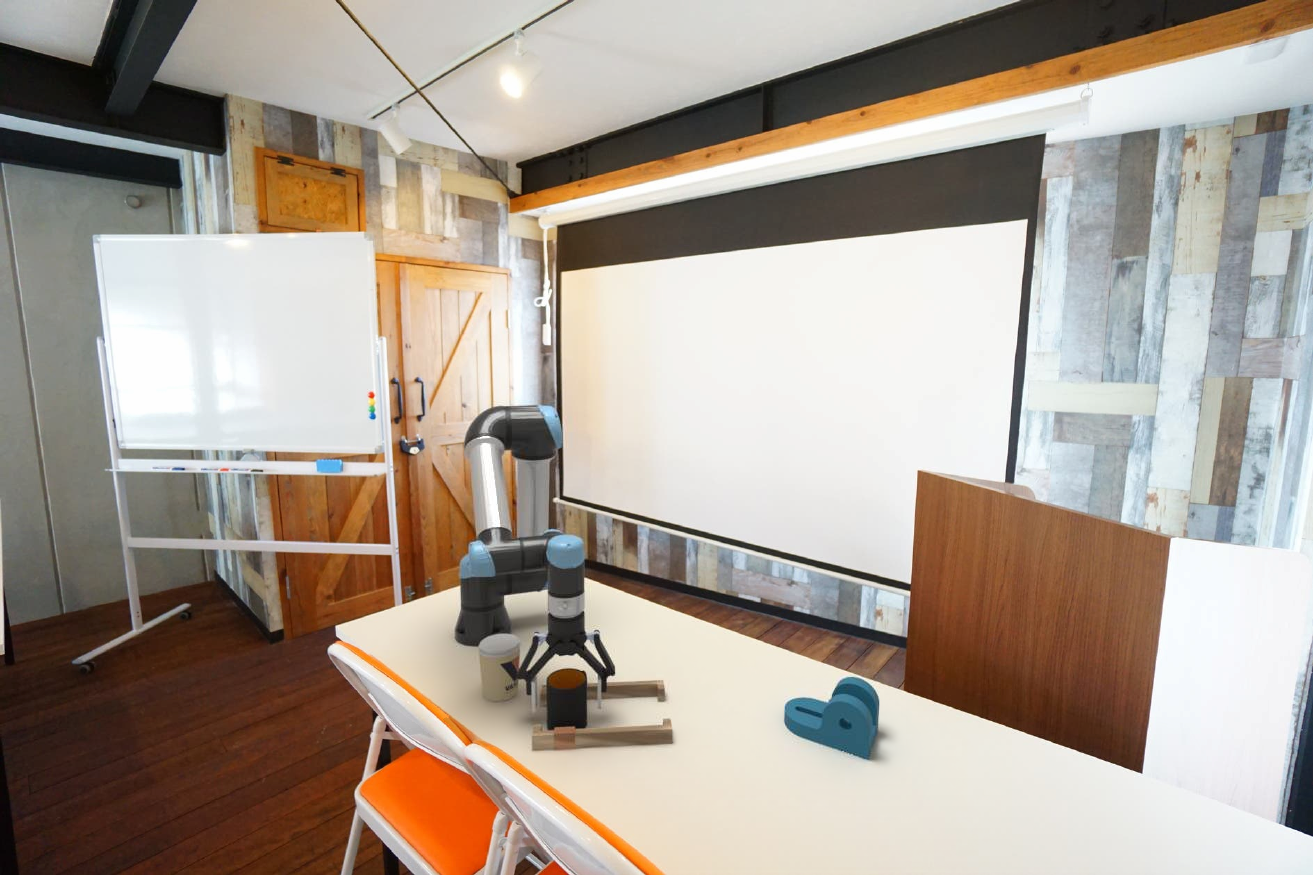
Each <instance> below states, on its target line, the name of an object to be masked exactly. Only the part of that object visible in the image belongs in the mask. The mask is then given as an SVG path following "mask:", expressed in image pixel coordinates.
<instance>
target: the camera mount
mask: <svg viewBox="0 0 1313 875" xmlns="http://www.w3.org/2000/svg"><path fill="white" fill-rule="evenodd" d="M783 711H784V713H783V716H784V717H783V722H784V725H785V728H786V729H787V730H788V731H789V732H791V733H792V734H793V735H795V736H797V737H799V738H801V739H805V740H807V741H809V742H810V741H811V742H813V743H816V744H819V745H821V746H823V747H828V748H831V749H832V750H833V749H834V750H836V749H837V751H839V752H842V751H844V752H843V753H845V752H846V754H848V753H849V755H851V754H853V755H852V756H854V757H857V756H858V758H861V759H862V760H866V761H869V759H870V756H871V752H872V750H871V749H873V747H874V743H875V742H876V741H875V740H876V738H877V734H878V732H879V717H880V715H879V714H880V698H879V695H878V692H877V691H876V689H875V688H874V687H873V686H872V685H871V683H869V682H868V681H866V680H865V679H863V678H860V677H857V676H846V677H844V678H841V680H839V681H837V684H836V685H835V688H834V690H833V691H832V693H831V698H830V699H828V700H827V702H826V701H824V700H820V699H818V698H817V699H816V698H812V697H804V696H803V697H795V698H792V699H790V700H788V701H787V702H786V703H785V704H784V710H783ZM868 758H869V759H868Z"/></svg>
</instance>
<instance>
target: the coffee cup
mask: <svg viewBox="0 0 1313 875" xmlns="http://www.w3.org/2000/svg"><path fill="white" fill-rule="evenodd" d="M521 647H522V646H521V641H520V639H519V637H518V636H516V635H515V634H511V633H510V634H496V635H492V636H489V637H487V638H485V639H483V640H482V641H481V642H480V644H479V645H478V647H477V652H478V657H479V658H478V659H479V668H480V669H479V670H480V679H481V688H482V695H483V698H485V699H486V700H487V701H490V702H503V701H506V700H510V699H511V698H513V697H515V696H516V694H518V688H519V679H517V674H518V671H519V668H520V657H521V656H520V654H521V652H520V651H521Z"/></svg>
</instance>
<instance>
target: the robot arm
mask: <svg viewBox="0 0 1313 875" xmlns="http://www.w3.org/2000/svg"><path fill="white" fill-rule="evenodd" d="M463 441H464V442H463V448H464V455H465V457H466V459H467V460H468V461H469V466H470V477H471V478H470V479H471V489H472V501H473V512H474V514H473V515H474V525H475V534H476V541H471V542H470V543H468V550H467V551H468V552H467V554H465V555H464V556H463V557H462V558H461V560H460V561H459V573H458V577H459V578H460V579H459V585H460V588H459V589H460V590H459V591H460V611H459V614H458V618H457V621H456V622H455V623H456V624H455V627H454V638H455V640H456V641H457V642H458V643H460V644H462V645H467V646H472V647H473V646H479V644H480V642H481V641H482V640H483V639H485V638H487V637H489V636H492V635H496V634H511V633H512V621H511V618H510V615H509V613H508V610H507V607H506V604H505V596H512V595H520V594H527V593H536V592H537V593H541V592H543V591H547V611H548V613H547V634H541V633H540V632H539V631H534V633H533V635H532V636H533V637H532V641H531V645H530V647H529V649H528V651H527V652H526V655H525V657H524V659H523V660H522V663H521V664H520V665H519V671H518V674H517V679H518V681H519V680H523V681H525V688H526V689H525V692H526V696H531V713H536V711H537V706H538V687H537V686H538V684H537V683H538V682H537V680H538V679H537V677H538V676H537V675H538V674H539V672H540V671H541V670H543V668H544V667H545V666H546V665H547V663H548V662H549V661H550V660H552V659H553V658H554V656H556V655H557V656H559V657H564V656H570V657H572V656H573V657H575V655H576V654H577V655H578V656H579V657H580V659H583V661H584V662H586V664H588V665H589V668H591V669H592V670H593V671H594V672H595V673H596V674H597V683H598V699H597V710H602V699H601V692H606V690H607V682H608V678H609V677H614V676H616V666H615V664H614V662H613V660H612V658H611V657H610V655H609V653H608V650H607V649H606V647H605V645H604V644H603V643H604V642H603V641H602V640H601V632H600V630H599V629H594V631H593V632H586V630H585V629H586V628H585V622H586V620H585V619H586V618H585V615H586V613H585V606H586V603H585V602H586V600H585V597H586V596H585V595H586V593H585V592H586V591H585V558H586V552H585V543H584V540H583V539H582V537H580V536H576V535H573V534H565V533H564V532H562V531H561V530H559V529H556V528H551V529H549V507H550V506H549V505H550V504H549V503H550V502H549V501H550V500H549V499H550V462H551V461H552V460H553V459H554V458H555V457H556V449H557V450H559V449H561V448H562V447H563V432H562V424H561V420H560V417H559V414H558V411H557V410H556V408H554V406H551V405H540V404H533V405H531V404H530V405H529V404H527V405H496V406H491V407H490V408H487V409H486V410H483V411H481V413H479V414H478V415H477V416H476V417H475V418H474V419H473V421H472V422H471V423H470V425H469V426H468V428H467V431H466V433H465V436H464V440H463ZM505 451H511V452H510V453H511V457H512V458H513V459H514V460H515V461H516V463H517V464H516V465H517V466H516V467H517V468H516V469H517V471H516V472H517V473H516V474H517V475H516V478H517V479H516V482H517V483H516V486H517V489H516V497H517V498H516V511H517V512H516V537H513V531H512V523H511V516H510V509H509V501H508V495H507V486H506V480H505V478H506V477H505V473H504V471H505V470H504V464H503V456H504V454H505ZM587 641H589V642H590V644H592V645H594V648H595V650H596V651H597V652H596V653H598V656H599V657H600V659H601V661H602V663H603V664H604V665H603V664H602V663H601V662H600V661H599V659H597V657H596V656H595V655H594V654H593V653H592V652H591V651H590V650H589V649H588V647H587V646H586V643H587ZM544 642H546V644H547V645H548V647H547V649H546V650H545V651H544V653H543V654H542V655H541V656H540V657H539V658H538V659H537V660H536V662H535V663H534V664H533V665H532V666H531V667H530V668H529V666H530V664H531V662H532V660H533V658H534V657H535V655H536V652H537V650H538V647H540V646H542V645H543V643H544ZM528 668H529V669H528Z"/></svg>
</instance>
